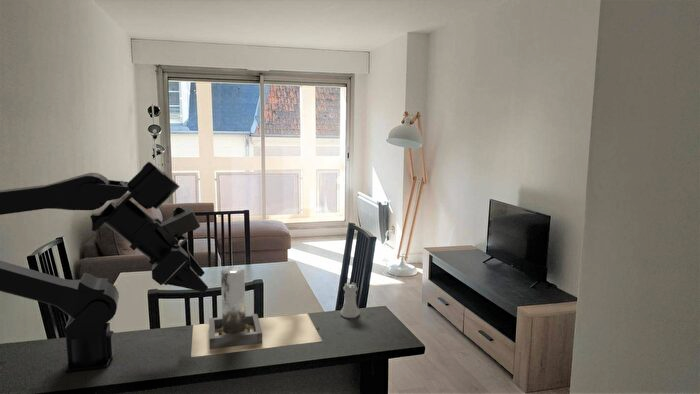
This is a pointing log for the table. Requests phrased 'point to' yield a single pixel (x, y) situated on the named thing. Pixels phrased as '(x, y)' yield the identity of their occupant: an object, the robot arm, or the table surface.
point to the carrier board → (253, 334)
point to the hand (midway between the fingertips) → (204, 281)
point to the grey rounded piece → (233, 302)
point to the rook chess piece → (350, 301)
